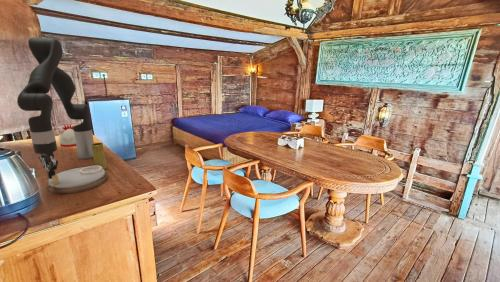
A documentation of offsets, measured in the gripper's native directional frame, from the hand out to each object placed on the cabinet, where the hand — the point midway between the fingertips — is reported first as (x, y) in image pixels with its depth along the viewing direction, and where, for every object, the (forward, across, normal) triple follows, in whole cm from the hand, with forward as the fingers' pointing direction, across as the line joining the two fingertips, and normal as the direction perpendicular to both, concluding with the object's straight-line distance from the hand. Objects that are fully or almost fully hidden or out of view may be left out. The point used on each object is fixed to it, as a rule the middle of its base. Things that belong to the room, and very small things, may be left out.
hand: (52, 178), depth 104 cm
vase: (+6, -9, +25) cm, 27 cm away
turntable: (+4, 0, +10) cm, 10 cm away
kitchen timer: (+7, -74, +39) cm, 84 cm away
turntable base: (+6, 0, +10) cm, 11 cm away
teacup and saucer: (+7, -93, +43) cm, 103 cm away
